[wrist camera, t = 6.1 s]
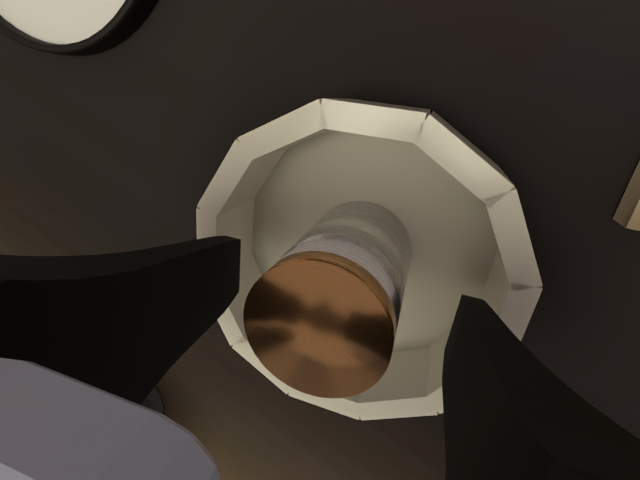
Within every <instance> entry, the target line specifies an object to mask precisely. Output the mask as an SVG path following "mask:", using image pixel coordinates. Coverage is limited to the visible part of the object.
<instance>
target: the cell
mask: <svg viewBox="0 0 640 480" xmlns="http://www.w3.org/2000/svg"><path fill="white" fill-rule="evenodd" d="M411 258H412V244H411V240H410V236H409V234H408V231H407V229H406V228H405V226H404V224H403V223H402V222H401V220H400V219H399V218H398V217H397V216H396V215H395V214H394V213H392V212H391V211H390V210H388V209H387V208H385V207H383V206H381V205H378V204H376V203H372V202H368V201H350V202H346V203H342V204H340V205H337V206H336V207H334V208H332V209H331V210H330V211H328V212H327V213H326V214H325V215H324V216H323V217H322V218H321V219H320V220H319V221H318V222H317V223H316V224H315V225H314V226H313V227H312V228H311V229H310V230H309V231H308V232H307V233H306V234H305V235H303V236H302V237H301V238H300V239H299V240H298V241H297V242H296V243H295V244H294V245H293V246H292V247H291V248H290V249H289V250H288V251H287V252H286V253H285V254H284V255H283V256H282V257H281V258H280V259H279V260H278V261H277V262H276V263H275V264H274V265H273V266H272V267H271V268H269V269H268V270H267V271H266V272H265V273H264V274H263V275H262V276H261V277H260V278H259V279H258V280H257V281H256V282H255V283H254V285H253V286H252V288H251V289H250V291H249V293H248V295H247V297H246V301H245V304H244V311H243V322H244V329H245V333H246V336H247V339H248V342H249V344H250V346H251V348H252V350H253V352H254V354H255V355H256V356H257V358H258V359H259V361H260V362H261V363H262V364H263V365H264V367H265V368H266V369H267V370H268V371H269V372H270V373H271V374H272V375H274V376H275V377H276V378H277V379H279V380H280V381H282V382H283V383H285V384H286V385H288V386H290V387H292V388H294V389H295V390H298V391H300V392H303V393H305V394H309V395H312V396H316V397H322V398H345V397H351V396H354V395H358V394H360V393H362V392H364V391H366V390H368V389H369V388H371V387H372V386H374V385H375V384H376V383H377V382H378V381H379V380H380V379H381V378H382V376H383V375H384V373H385V372H386V370H387V368H388V366H389V363H390V360H391V356H392V351H393V346H394V341H395V336H396V332H397V327H398V322H399V317H400V312H401V307H402V302H403V297H404V292H405V287H406V283H407V278H408V273H409V268H410V263H411Z"/></svg>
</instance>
